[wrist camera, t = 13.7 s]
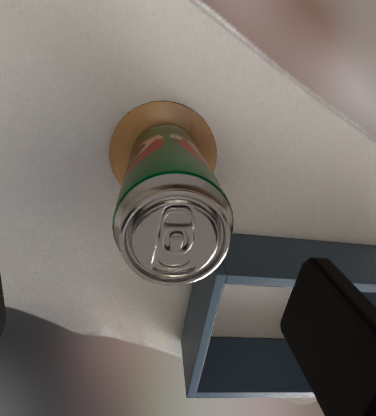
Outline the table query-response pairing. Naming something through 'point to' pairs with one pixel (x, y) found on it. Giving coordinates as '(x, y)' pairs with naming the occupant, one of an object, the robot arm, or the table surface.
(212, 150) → the coaster
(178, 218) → the soda can
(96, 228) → the table surface
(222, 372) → the frame
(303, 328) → the robot arm
